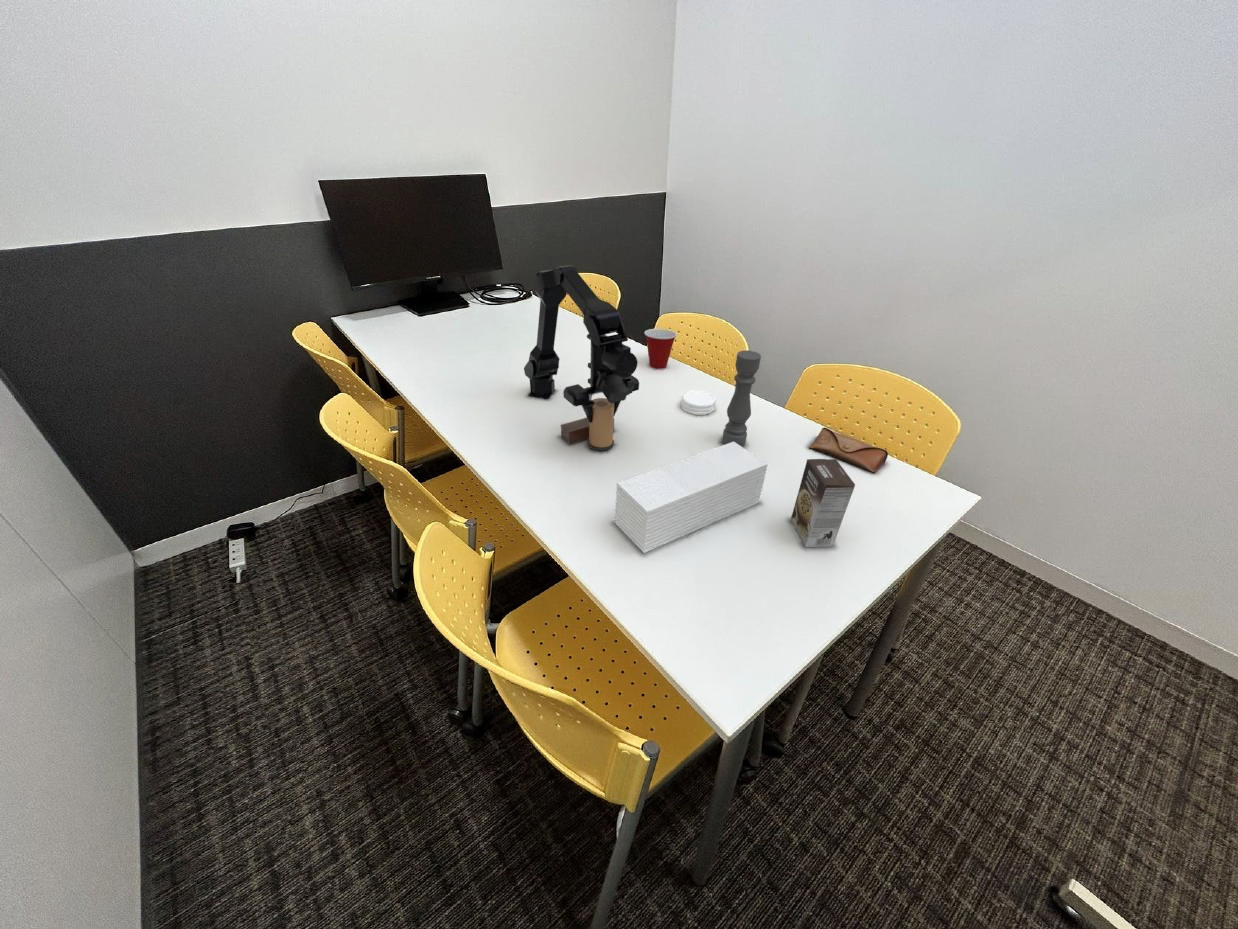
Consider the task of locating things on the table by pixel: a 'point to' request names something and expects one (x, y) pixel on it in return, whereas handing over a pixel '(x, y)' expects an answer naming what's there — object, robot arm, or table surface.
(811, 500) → the brown food box
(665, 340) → the plastic cup
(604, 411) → the tan cylinder
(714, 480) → the stack of papers
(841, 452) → the sunglasses case
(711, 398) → the coaster
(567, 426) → the walnut block
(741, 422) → the candle holder
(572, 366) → the table surface
